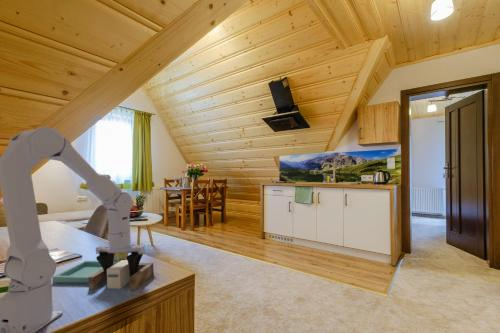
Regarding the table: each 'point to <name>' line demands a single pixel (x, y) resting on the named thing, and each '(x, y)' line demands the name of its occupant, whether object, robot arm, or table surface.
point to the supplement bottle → (120, 256)
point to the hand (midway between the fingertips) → (121, 277)
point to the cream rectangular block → (118, 275)
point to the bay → (135, 280)
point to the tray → (78, 273)
